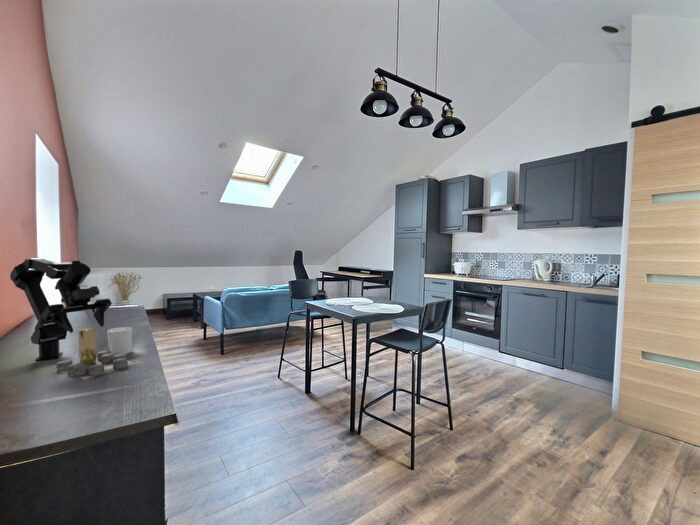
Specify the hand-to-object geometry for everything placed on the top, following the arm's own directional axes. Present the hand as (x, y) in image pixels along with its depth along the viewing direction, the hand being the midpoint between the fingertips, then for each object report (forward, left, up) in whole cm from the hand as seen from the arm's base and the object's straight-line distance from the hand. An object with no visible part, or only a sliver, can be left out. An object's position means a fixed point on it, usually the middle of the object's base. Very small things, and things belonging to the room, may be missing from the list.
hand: (87, 329), depth 113 cm
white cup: (-11, +8, -14) cm, 19 cm away
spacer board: (+4, +3, -13) cm, 14 cm away
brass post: (0, 0, -12) cm, 12 cm away
